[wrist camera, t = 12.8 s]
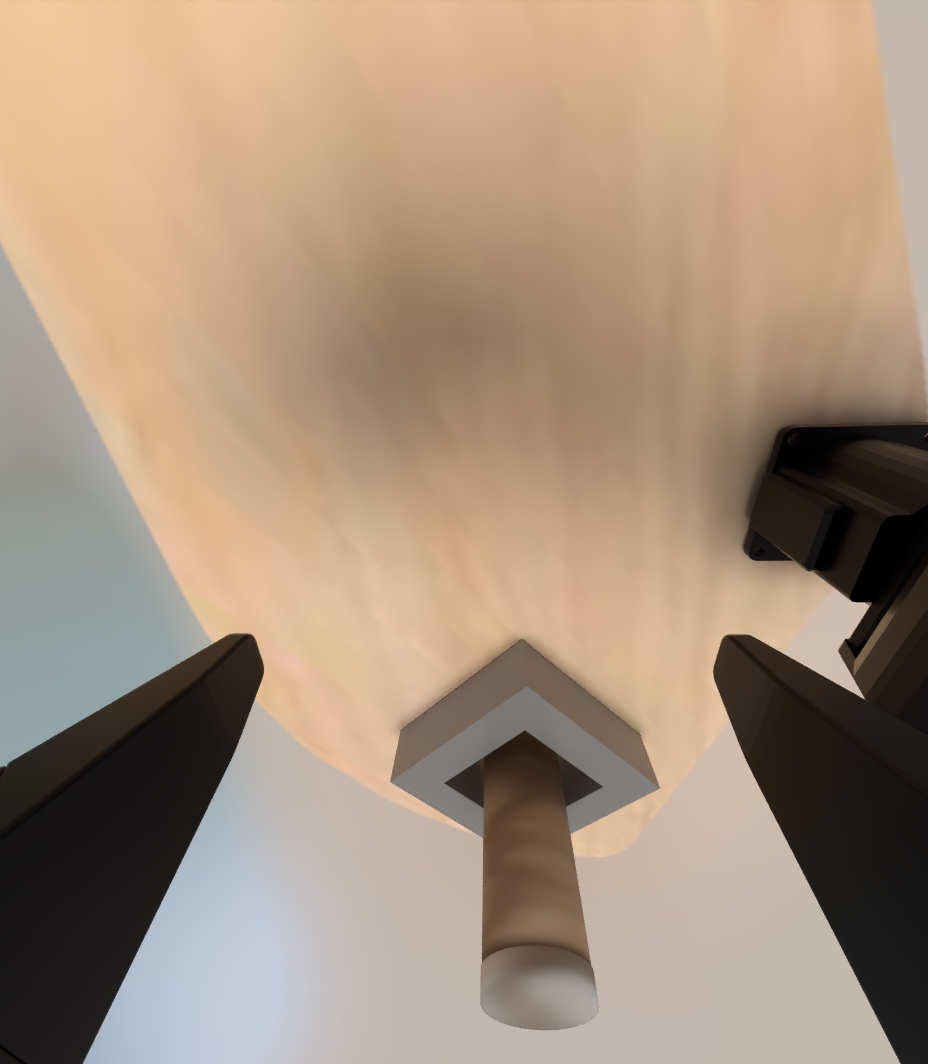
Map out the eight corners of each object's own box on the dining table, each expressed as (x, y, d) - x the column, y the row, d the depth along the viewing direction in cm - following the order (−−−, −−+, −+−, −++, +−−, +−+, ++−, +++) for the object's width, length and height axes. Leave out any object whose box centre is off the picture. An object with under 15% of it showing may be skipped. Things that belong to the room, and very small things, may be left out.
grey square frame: (521, 639, 25) (527, 686, 21) (640, 735, 28) (659, 788, 24) (400, 731, 28) (390, 781, 25) (516, 806, 31) (519, 860, 28)
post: (532, 697, 27) (565, 971, 15) (567, 741, 28) (619, 1020, 17) (470, 723, 28) (458, 993, 17) (506, 764, 29) (517, 1036, 18)
